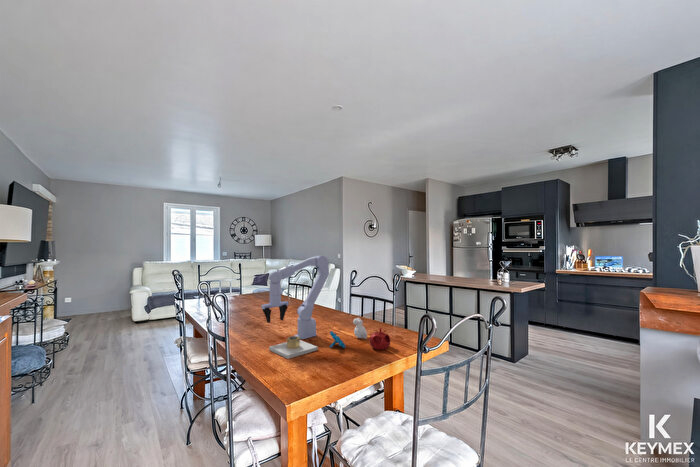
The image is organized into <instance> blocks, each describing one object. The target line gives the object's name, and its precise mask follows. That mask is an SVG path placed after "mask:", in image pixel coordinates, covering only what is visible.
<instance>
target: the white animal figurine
mask: <svg viewBox="0 0 700 467" xmlns="http://www.w3.org/2000/svg"><path fill="white" fill-rule="evenodd" d="M363 323H364V321H363V320H362V319H361V318H360V317H357V318H354V319H353V320H352V324H353V325H354V326H355V325H356V326H355V327H354V330H353V333H354V336H355V337H356V338H357V339H363V340H364V339H365V340H367V338H368V331H367V329H366V327H365V326H364V325H363Z"/></svg>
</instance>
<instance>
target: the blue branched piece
mask: <svg viewBox="0 0 700 467" xmlns="http://www.w3.org/2000/svg"><path fill="white" fill-rule="evenodd" d="M329 334H330V336H331V338H332V339H333V342H331V344H330V345H329V348H330V349H332V348H333V346H335V345H336V344H338V346H339V347H342V348H343V349H345V348H346V344H345V343H344V342H343V340H342V339H341V338H340V336H339V335H337V333H336V332H335V333H334V331H332V330H331V331H330V332H329Z"/></svg>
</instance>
